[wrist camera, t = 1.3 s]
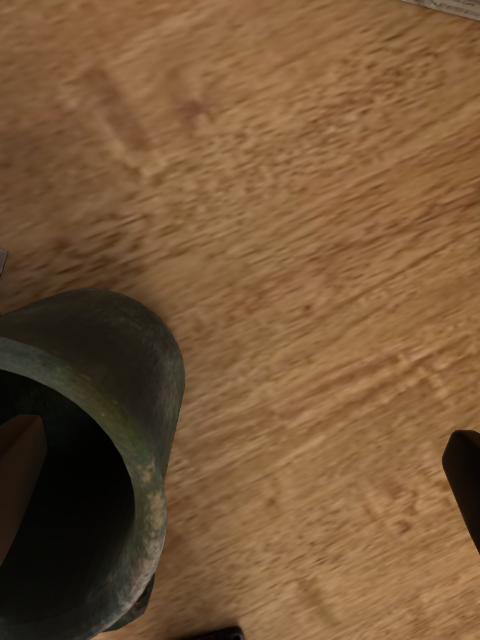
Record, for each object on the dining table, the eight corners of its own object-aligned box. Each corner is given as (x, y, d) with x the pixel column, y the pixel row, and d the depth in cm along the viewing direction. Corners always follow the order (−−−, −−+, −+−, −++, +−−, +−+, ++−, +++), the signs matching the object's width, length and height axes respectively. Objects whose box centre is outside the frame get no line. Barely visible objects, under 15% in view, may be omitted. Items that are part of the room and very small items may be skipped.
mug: (146, 250, 21) (55, 270, 9) (238, 460, 24) (257, 668, 13) (-28, 319, 21) (-326, 422, 10) (87, 517, 25) (-32, 771, 13)
